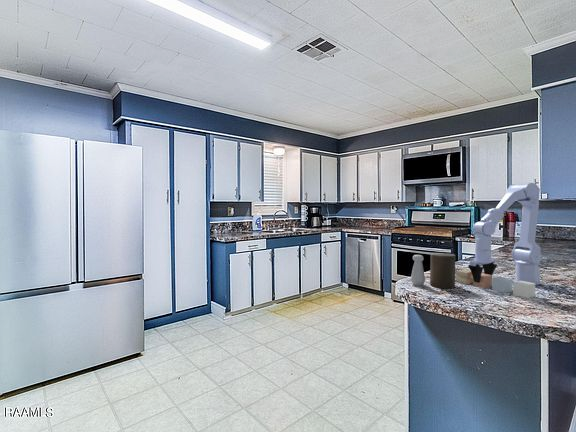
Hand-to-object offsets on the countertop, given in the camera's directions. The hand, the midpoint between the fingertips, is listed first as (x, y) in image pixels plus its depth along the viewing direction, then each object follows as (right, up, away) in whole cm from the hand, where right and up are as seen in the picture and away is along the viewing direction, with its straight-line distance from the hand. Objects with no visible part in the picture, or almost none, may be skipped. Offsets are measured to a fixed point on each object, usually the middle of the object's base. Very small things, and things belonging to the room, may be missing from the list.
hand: (482, 281), depth 135 cm
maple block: (-3, -2, +7) cm, 8 cm away
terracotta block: (0, -2, 0) cm, 2 cm away
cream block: (+7, -3, -14) cm, 16 cm away
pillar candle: (-17, -2, +1) cm, 17 cm away
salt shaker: (-27, -2, +2) cm, 27 cm away
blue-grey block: (+4, -2, -7) cm, 8 cm away
